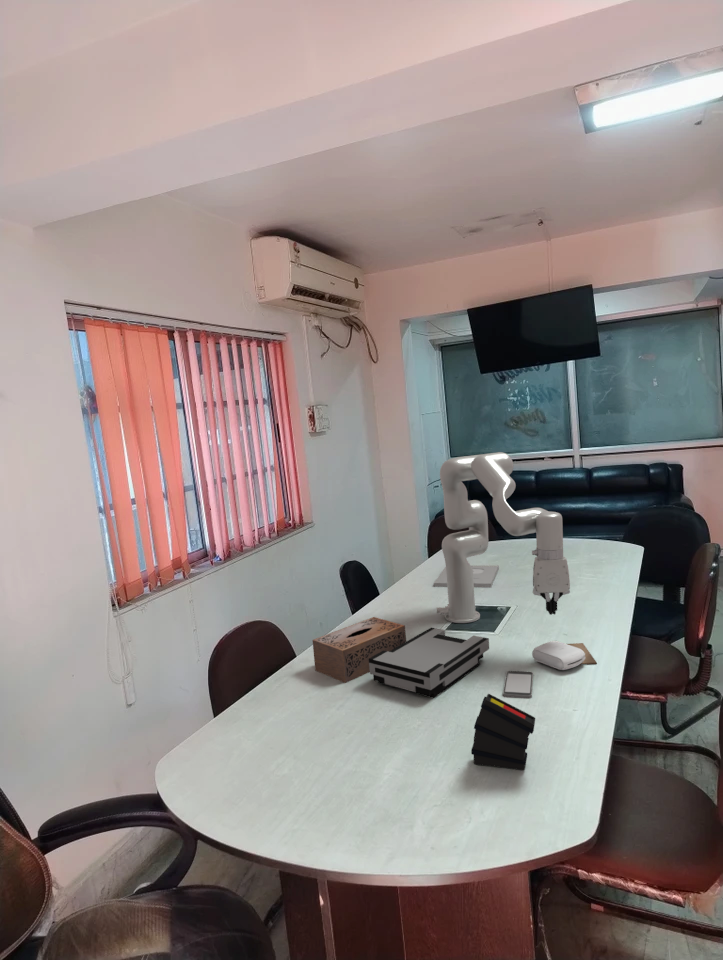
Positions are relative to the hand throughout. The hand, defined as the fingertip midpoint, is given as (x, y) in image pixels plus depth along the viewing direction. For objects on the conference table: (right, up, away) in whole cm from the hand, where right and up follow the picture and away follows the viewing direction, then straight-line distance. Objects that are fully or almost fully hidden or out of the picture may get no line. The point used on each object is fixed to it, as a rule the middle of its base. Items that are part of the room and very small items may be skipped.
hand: (551, 612), depth 187 cm
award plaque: (-9, -5, +94) cm, 94 cm away
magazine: (-26, -21, -53) cm, 63 cm away
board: (+5, -13, 0) cm, 14 cm away
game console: (-36, -17, -4) cm, 40 cm away
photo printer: (-3, -11, 0) cm, 11 cm away
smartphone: (-14, -17, -17) cm, 28 cm away
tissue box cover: (-57, -18, +7) cm, 60 cm away
